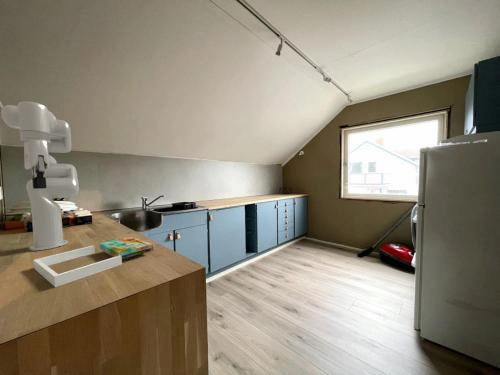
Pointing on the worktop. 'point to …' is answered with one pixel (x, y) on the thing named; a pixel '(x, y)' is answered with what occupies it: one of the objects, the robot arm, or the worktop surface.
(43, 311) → the worktop surface
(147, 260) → the worktop surface
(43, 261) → the frame
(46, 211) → the robot arm
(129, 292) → the worktop surface
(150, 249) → the rail
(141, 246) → the puzzle game
